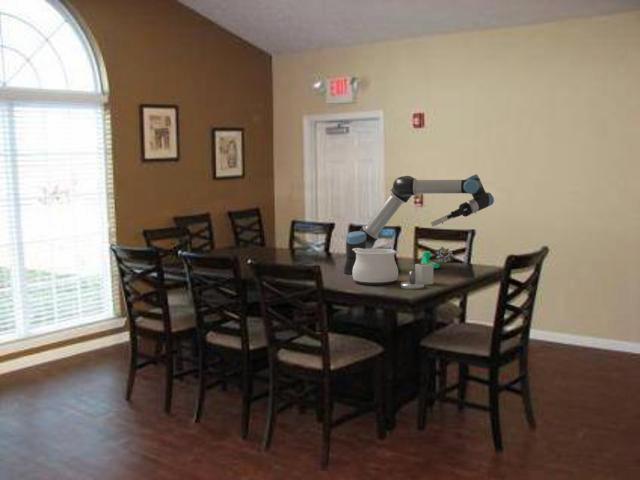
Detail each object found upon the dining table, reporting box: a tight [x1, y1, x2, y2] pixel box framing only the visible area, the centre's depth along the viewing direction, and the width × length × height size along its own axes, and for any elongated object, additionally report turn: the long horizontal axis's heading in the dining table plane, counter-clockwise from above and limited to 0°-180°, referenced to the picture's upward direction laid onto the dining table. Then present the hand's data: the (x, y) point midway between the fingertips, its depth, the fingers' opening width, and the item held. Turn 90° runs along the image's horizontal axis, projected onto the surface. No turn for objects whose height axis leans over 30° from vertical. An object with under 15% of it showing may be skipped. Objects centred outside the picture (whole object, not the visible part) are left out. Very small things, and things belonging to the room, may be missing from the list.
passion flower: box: [434, 245, 454, 264], centre depth 458 cm, size 11×11×12 cm
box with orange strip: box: [414, 262, 434, 286], centre depth 379 cm, size 7×7×11 cm
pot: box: [351, 247, 400, 286], centre depth 384 cm, size 28×24×17 cm
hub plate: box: [400, 270, 425, 290], centre depth 368 cm, size 12×12×8 cm
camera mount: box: [420, 250, 440, 269], centre depth 433 cm, size 12×8×10 cm, turn 10°
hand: (436, 222), depth 394 cm, fingers open, 13 cm apart
